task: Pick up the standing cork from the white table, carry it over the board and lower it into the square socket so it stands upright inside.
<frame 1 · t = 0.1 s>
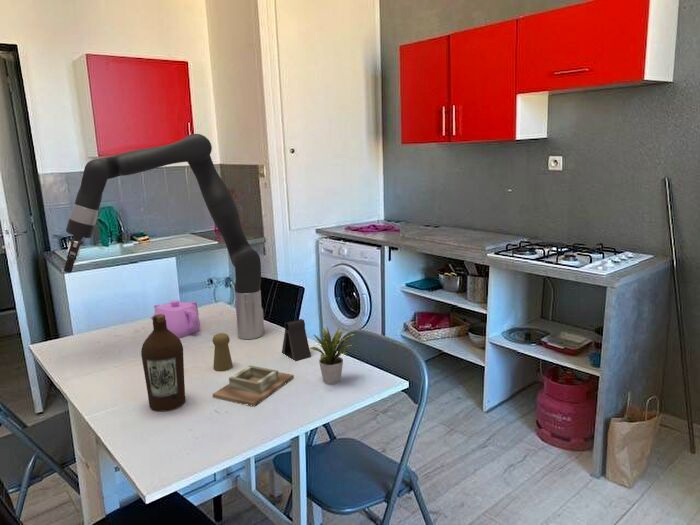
hand: (68, 269, 170), 31 cm above the table, tool tilted 20°, fingers open, 8 cm apart
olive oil: (167, 404, 147), on the table
socket board: (254, 387, 155), on the table
cork: (223, 368, 170), on the table
phone stand: (296, 355, 179), on the table
house plant: (332, 382, 158), on the table
teakettle: (175, 332, 205), on the table
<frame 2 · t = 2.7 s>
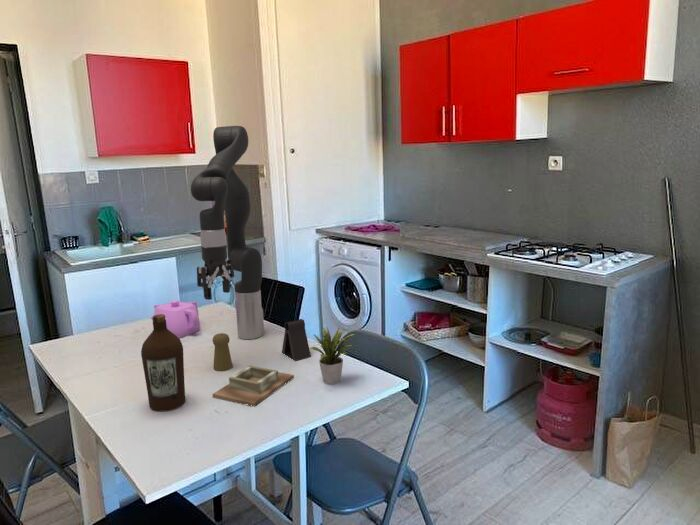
hand: (217, 295, 165), 24 cm above the table, tool pointing down, fingers open, 8 cm apart
nothing on the table moved.
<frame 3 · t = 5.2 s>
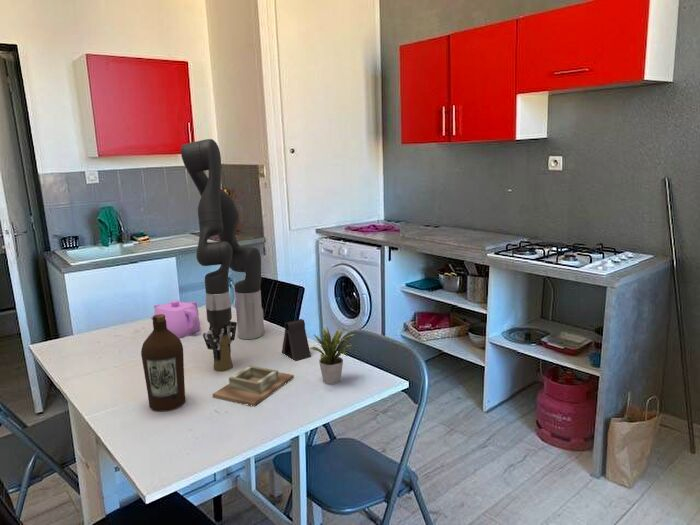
hand: (222, 357, 170), 3 cm above the table, tool pointing down, fingers closed on cork, 4 cm apart
cork: (223, 368, 170), on the table, touching gripper
everything else where it was.
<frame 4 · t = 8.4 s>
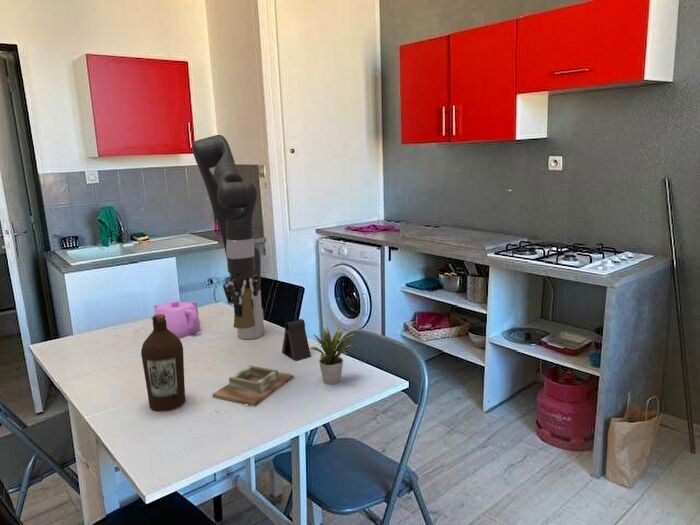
hand: (244, 314, 152), 22 cm above the table, tool pointing down, fingers closed on cork, 4 cm apart
cork: (244, 325, 152), point 18 cm above the table, touching gripper
everything else where it was.
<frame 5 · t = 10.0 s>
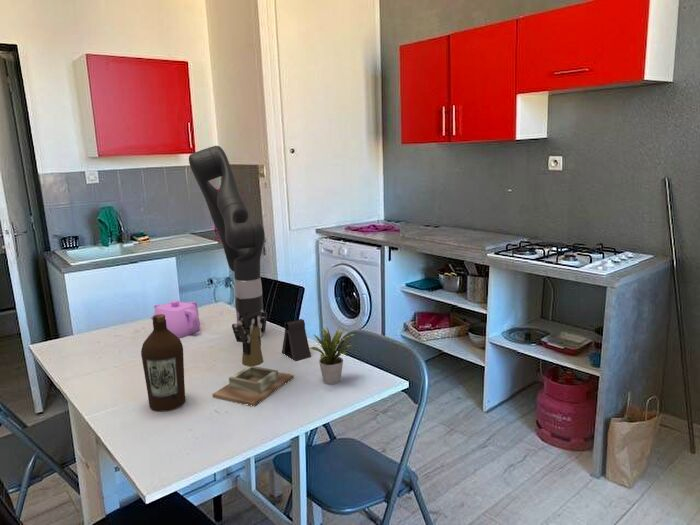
hand: (252, 351, 153), 11 cm above the table, tool pointing down, fingers closed on cork, 4 cm apart
cork: (252, 362, 154), point 8 cm above the table, touching gripper
everything else where it was.
when the fingers open (6 cm above the table, at t = 11.5 s): cork drops 1 cm, resting on socket board.
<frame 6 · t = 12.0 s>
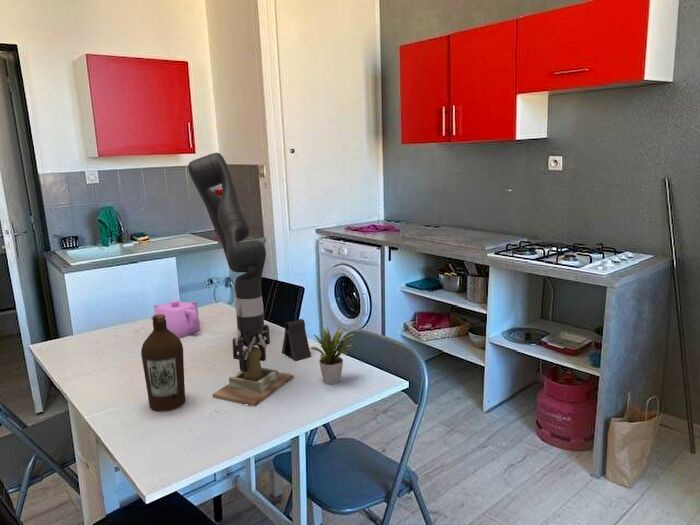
hand: (253, 365, 154), 7 cm above the table, tool pointing down, fingers open, 8 cm apart
cork: (253, 384, 155), point 1 cm above the table, touching socket board
everything else where it was.
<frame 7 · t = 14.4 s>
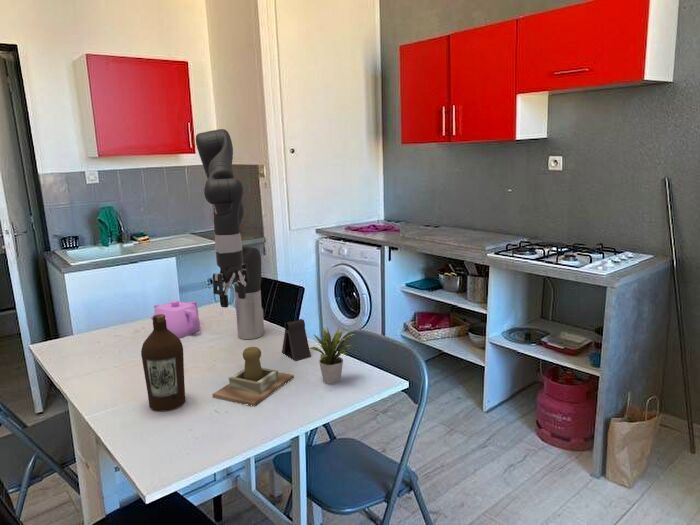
hand: (233, 302, 158), 23 cm above the table, tool pointing down, fingers open, 8 cm apart
nothing on the table moved.
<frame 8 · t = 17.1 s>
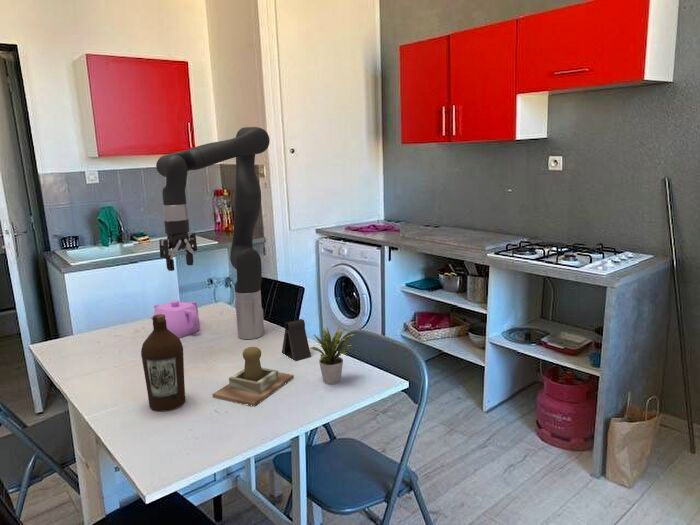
hand: (180, 267, 175), 30 cm above the table, tool pointing down, fingers open, 8 cm apart
nothing on the table moved.
at the end: cork 0.2 cm off-centre on the socket board, point 0.8 cm above the socket board's base; cork tilted 0°; the gripper is holding nothing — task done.
